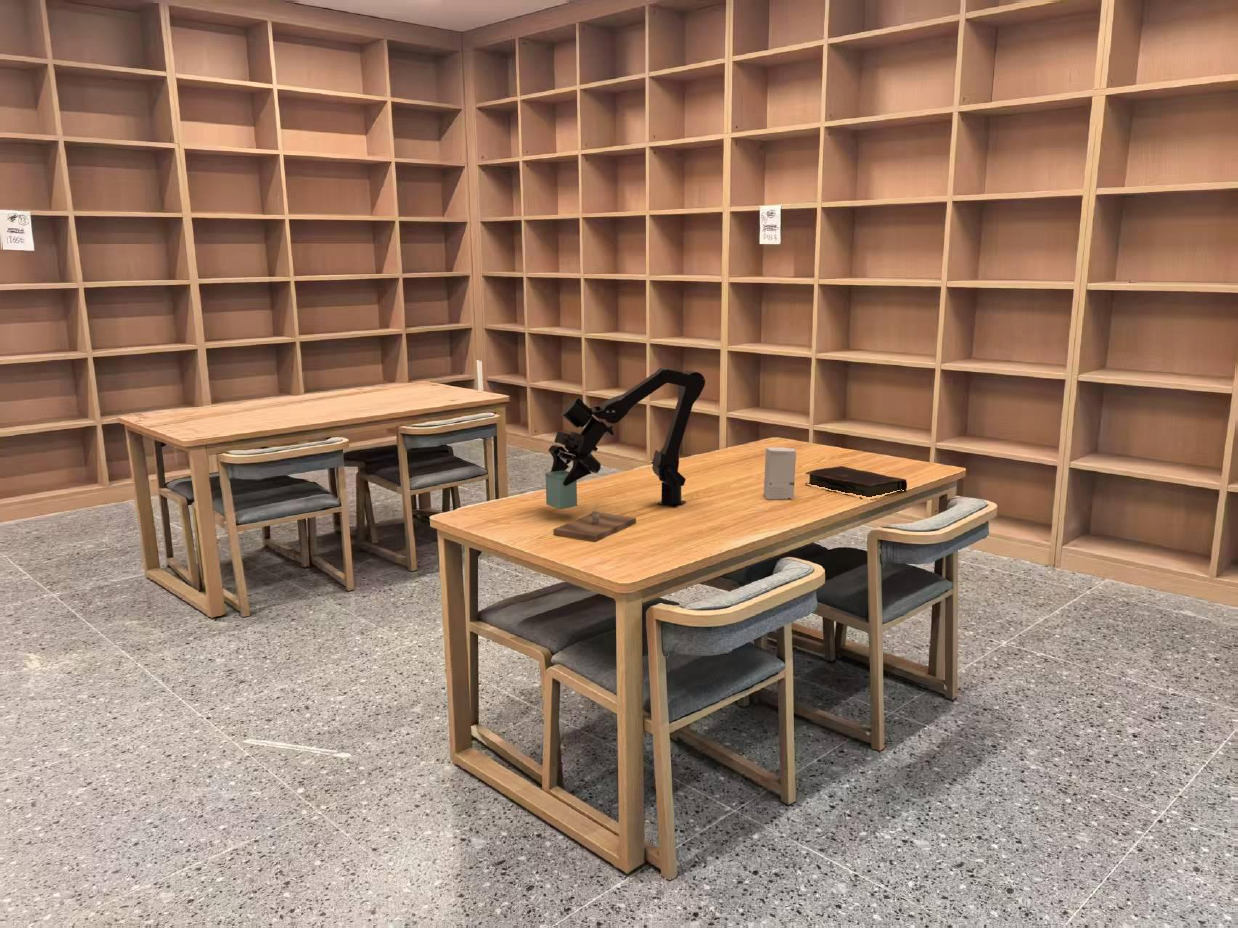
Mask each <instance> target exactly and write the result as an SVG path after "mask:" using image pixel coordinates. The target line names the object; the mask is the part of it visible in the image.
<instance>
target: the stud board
mask: <svg viewBox="0 0 1238 928" xmlns="http://www.w3.org/2000/svg"><path fill="white" fill-rule="evenodd" d="M635 524H637V517H633V516H624V515H620V514H612V513H606V512H599V510H598V509H593V510H592V512H591V513H589V514H586V515H584V516H582V517H579V518H577V519H574V520H571V521H570V522H566V523H565V524H563V525H560V526H557V527H555V528H553V535H554V536H559V537H565V538H570V539H571V538H572V539H576V540H582V541H583V540H584V541H589V542H595V543H596V542H598V541H601V540H603V539H606V538H608V537H609V536H612V535H613V534H616V533H618V532H620V531H622V530H625V529H626V528H629V527H631V526H633V525H635Z"/></svg>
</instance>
